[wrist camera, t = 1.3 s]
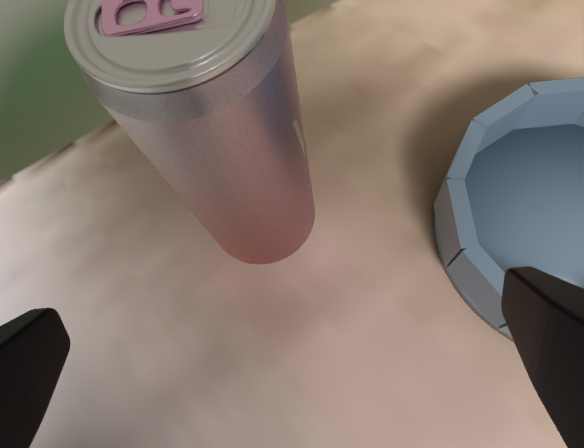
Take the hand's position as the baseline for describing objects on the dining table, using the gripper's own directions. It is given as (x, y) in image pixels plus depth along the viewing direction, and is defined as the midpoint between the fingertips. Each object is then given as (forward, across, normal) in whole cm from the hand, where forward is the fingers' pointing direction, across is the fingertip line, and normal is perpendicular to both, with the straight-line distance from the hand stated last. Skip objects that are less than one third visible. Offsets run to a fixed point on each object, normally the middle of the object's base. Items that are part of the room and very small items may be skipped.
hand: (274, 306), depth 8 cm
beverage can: (+16, +2, +5) cm, 17 cm away
